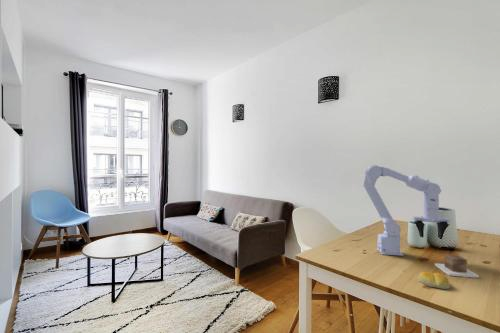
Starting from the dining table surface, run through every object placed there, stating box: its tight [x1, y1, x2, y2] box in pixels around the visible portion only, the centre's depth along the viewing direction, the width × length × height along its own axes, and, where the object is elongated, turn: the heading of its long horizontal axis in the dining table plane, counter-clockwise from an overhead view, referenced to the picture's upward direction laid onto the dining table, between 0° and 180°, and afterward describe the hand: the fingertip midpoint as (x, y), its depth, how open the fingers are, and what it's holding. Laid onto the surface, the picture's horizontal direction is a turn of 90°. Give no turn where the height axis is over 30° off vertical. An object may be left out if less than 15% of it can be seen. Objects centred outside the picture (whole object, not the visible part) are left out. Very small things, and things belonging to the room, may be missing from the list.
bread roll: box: [418, 270, 450, 290], centre depth 88 cm, size 8×9×4 cm
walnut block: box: [444, 253, 468, 272], centre depth 98 cm, size 5×5×5 cm
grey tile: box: [434, 262, 480, 279], centre depth 98 cm, size 10×10×1 cm
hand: (430, 237), depth 113 cm, fingers open, 7 cm apart
